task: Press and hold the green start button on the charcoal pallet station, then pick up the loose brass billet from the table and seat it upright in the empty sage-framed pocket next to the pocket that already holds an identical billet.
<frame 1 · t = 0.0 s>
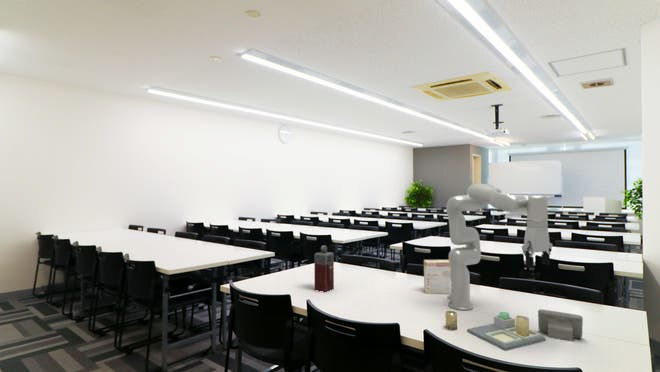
hand: (537, 265, 148), 31 cm above the table, tool pointing down, fingers open, 9 cm apart
square decanter bottle: (325, 290, 221), on the table
billet: (451, 328, 160), on the table
station: (505, 336, 151), on the table
coffeecake box: (437, 292, 215), on the table
digital clock: (559, 336, 151), on the table
start button: (504, 318, 158), point 5 cm above the table, slide at 0.0 cm
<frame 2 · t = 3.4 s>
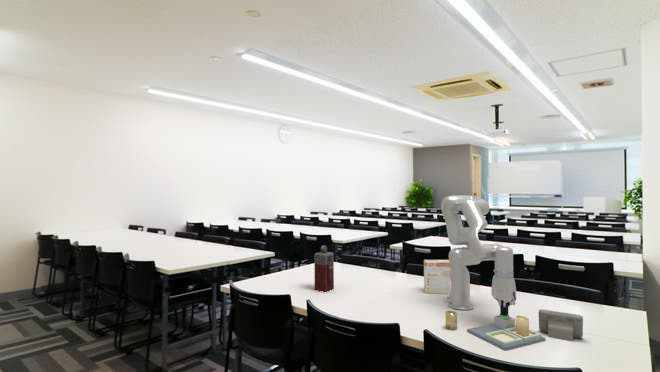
hand: (504, 314, 158), 6 cm above the table, tool pointing down, fingers closed
start button: (504, 319, 158), point 4 cm above the table, slide at 0.7 cm, touching gripper
everything else where it was.
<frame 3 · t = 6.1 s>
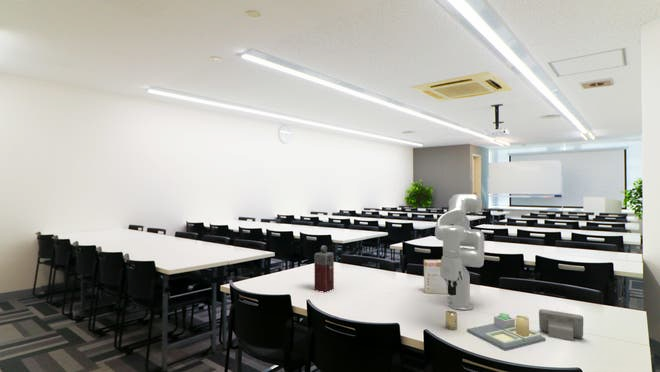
hand: (451, 294, 160), 15 cm above the table, tool pointing down, fingers closed
start button: (504, 319, 158), point 4 cm above the table, slide at 0.7 cm
everything else where it was.
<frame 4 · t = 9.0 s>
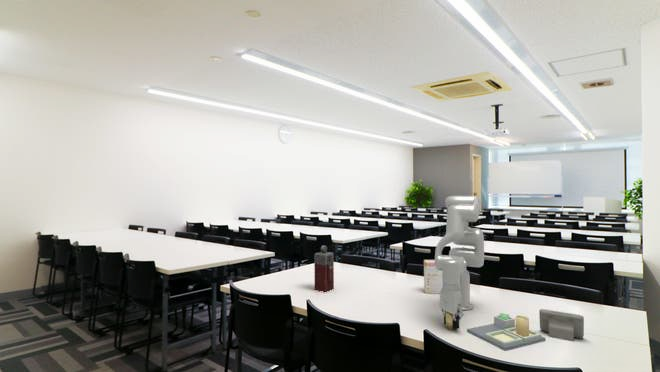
hand: (451, 325, 160), 1 cm above the table, tool pointing down, fingers closed on billet, 5 cm apart
billet: (451, 328, 160), on the table, touching gripper
everything else where it was.
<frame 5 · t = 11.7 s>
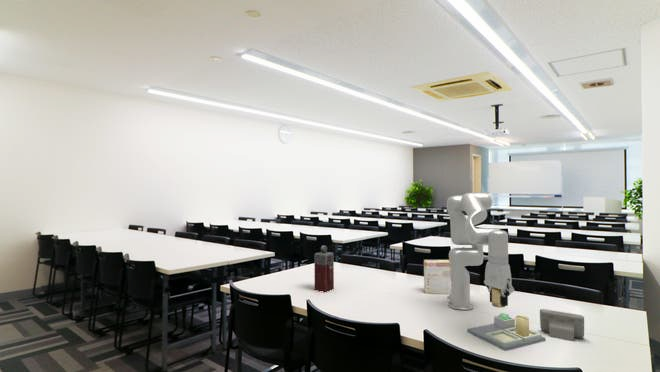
hand: (498, 303, 146), 16 cm above the table, tool pointing down, fingers closed on billet, 5 cm apart
billet: (498, 305, 146), point 15 cm above the table, touching gripper
everything else where it was.
when the fingers open (4 cm above the table, at t = 14.5 s): billet drops 1 cm, resting on station.
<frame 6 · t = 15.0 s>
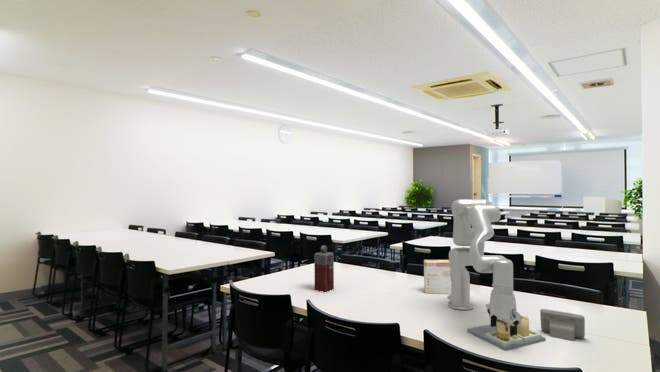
hand: (503, 330, 145), 5 cm above the table, tool pointing down, fingers open, 9 cm apart
billet: (503, 338, 145), point 1 cm above the table, touching station
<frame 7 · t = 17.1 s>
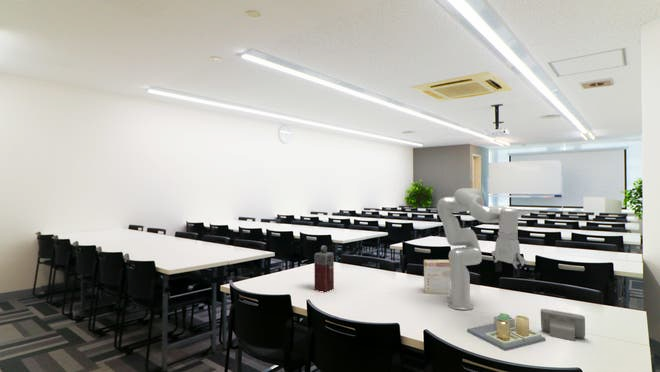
hand: (507, 274, 156), 25 cm above the table, tool pointing down, fingers open, 9 cm apart
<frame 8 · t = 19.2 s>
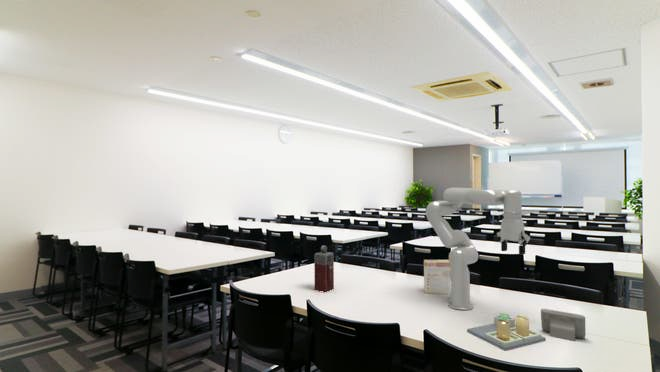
hand: (512, 252, 166), 33 cm above the table, tool pointing down, fingers open, 9 cm apart
at the end: billet 0.1 cm from the target spot on the station, point 1.5 cm above the station's base; billet tilted 1°; the gripper is holding nothing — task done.
